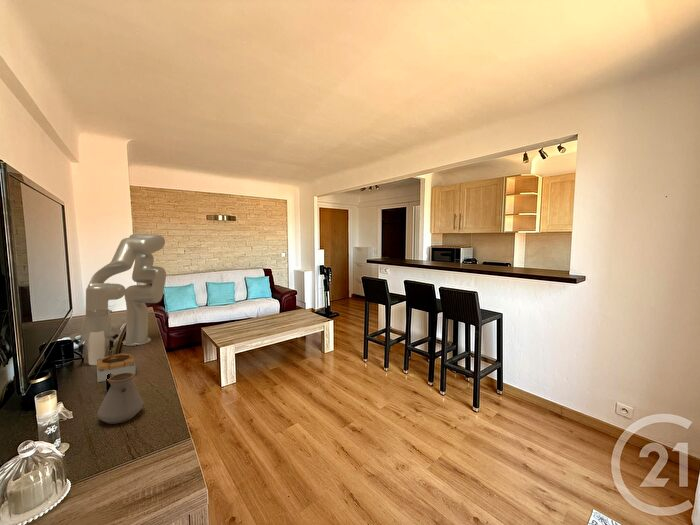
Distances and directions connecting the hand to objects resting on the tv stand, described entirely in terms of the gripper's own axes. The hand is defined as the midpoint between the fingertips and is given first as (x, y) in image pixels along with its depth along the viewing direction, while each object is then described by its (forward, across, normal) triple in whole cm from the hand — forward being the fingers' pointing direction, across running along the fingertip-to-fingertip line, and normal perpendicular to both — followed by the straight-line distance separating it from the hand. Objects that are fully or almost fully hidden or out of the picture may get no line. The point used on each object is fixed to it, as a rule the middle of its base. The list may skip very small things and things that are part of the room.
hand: (96, 351), depth 130 cm
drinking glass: (+6, 0, 0) cm, 6 cm away
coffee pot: (+6, -5, +61) cm, 61 cm away
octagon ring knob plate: (+6, -6, +15) cm, 17 cm away
